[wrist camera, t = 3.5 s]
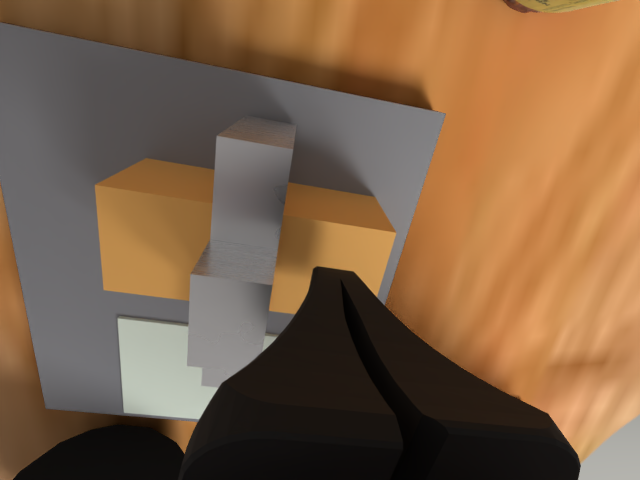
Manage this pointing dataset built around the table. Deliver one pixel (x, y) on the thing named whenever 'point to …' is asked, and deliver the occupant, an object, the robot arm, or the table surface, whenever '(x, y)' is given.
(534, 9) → the sauce bottle
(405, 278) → the table surface
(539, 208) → the table surface
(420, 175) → the board
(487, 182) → the table surface
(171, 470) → the black and grey cylinder
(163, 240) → the block
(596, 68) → the table surface
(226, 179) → the clasp
